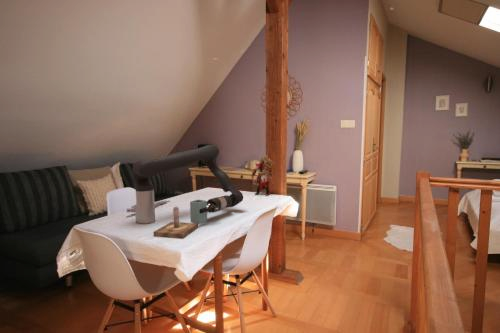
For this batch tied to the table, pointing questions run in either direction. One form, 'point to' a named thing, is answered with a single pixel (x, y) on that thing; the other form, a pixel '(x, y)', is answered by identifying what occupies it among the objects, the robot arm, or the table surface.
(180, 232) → the peg board
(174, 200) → the table surface
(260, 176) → the figurine
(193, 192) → the table surface
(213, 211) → the robot arm
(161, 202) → the adjustable rod
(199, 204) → the collar
